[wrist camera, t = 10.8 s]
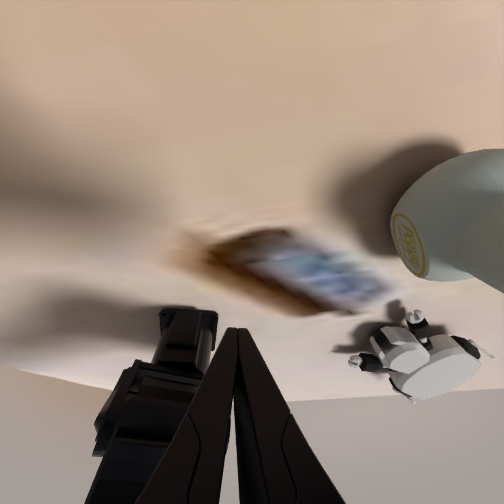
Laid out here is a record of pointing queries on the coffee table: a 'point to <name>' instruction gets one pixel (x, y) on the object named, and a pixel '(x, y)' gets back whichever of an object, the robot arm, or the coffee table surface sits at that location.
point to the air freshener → (455, 220)
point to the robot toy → (421, 359)
